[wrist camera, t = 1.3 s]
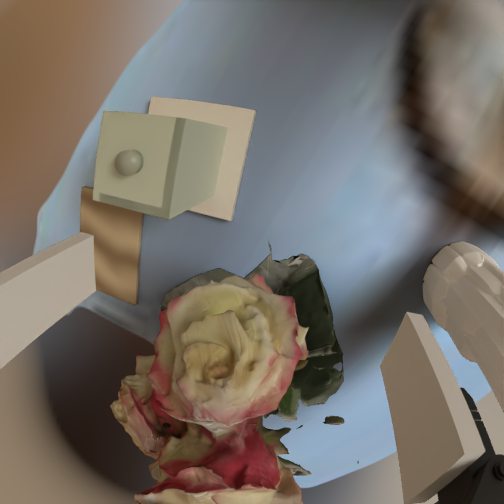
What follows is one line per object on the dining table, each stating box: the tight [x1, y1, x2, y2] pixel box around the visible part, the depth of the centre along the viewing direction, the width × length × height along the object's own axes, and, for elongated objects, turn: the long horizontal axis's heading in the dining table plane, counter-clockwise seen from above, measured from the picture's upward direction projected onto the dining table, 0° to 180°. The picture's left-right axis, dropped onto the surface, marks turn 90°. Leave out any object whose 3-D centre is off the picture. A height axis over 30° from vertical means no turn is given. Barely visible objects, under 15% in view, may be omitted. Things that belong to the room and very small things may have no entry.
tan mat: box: [80, 186, 144, 305], centre depth 40 cm, size 16×11×1 cm
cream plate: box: [148, 97, 256, 221], centre depth 32 cm, size 13×13×3 cm
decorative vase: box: [422, 242, 504, 412], centre depth 21 cm, size 11×11×25 cm
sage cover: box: [93, 111, 228, 220], centre depth 27 cm, size 8×8×13 cm
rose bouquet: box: [110, 241, 359, 504], centre depth 27 cm, size 26×29×30 cm
